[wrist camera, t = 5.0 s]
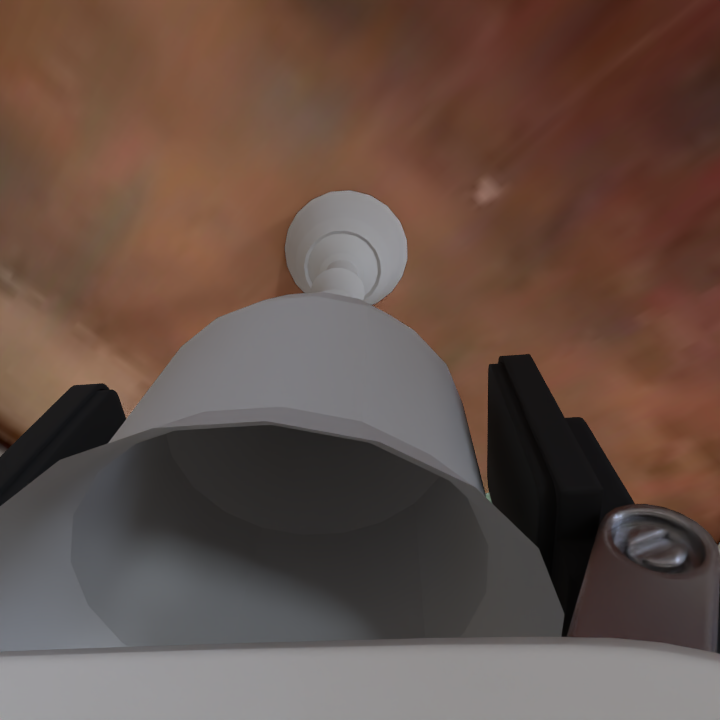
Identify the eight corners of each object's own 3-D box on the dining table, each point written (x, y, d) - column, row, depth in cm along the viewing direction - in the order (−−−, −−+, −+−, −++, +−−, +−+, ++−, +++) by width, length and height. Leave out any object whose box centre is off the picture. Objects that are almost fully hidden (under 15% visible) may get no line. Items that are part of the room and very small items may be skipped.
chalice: (285, 343, 25) (110, 819, 9) (235, 191, 22) (-164, 488, 6) (447, 309, 24) (582, 778, 8) (417, 146, 21) (535, 354, 5)
